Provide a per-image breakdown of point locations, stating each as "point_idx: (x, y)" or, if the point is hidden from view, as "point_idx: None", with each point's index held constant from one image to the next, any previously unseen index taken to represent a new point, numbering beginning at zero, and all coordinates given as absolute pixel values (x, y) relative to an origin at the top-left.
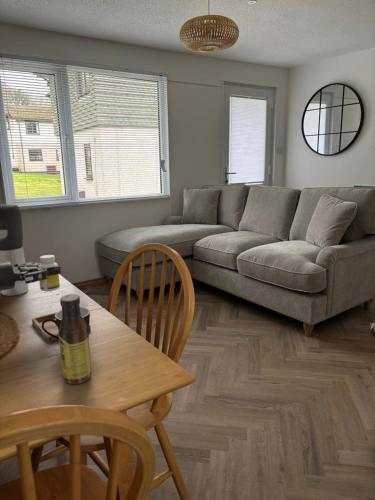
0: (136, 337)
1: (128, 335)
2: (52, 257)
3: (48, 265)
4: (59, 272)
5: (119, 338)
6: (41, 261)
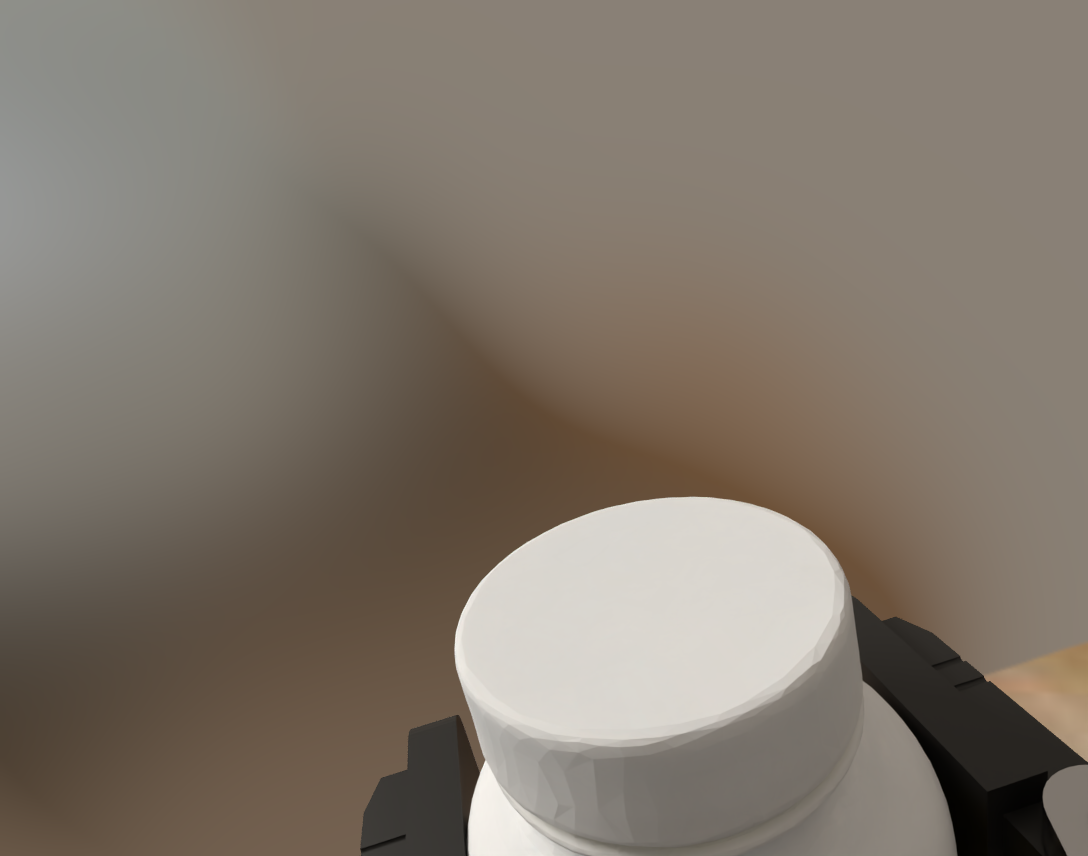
0: (1074, 657)
1: (1048, 691)
2: (755, 512)
3: (874, 718)
4: None
5: None
6: (808, 791)
